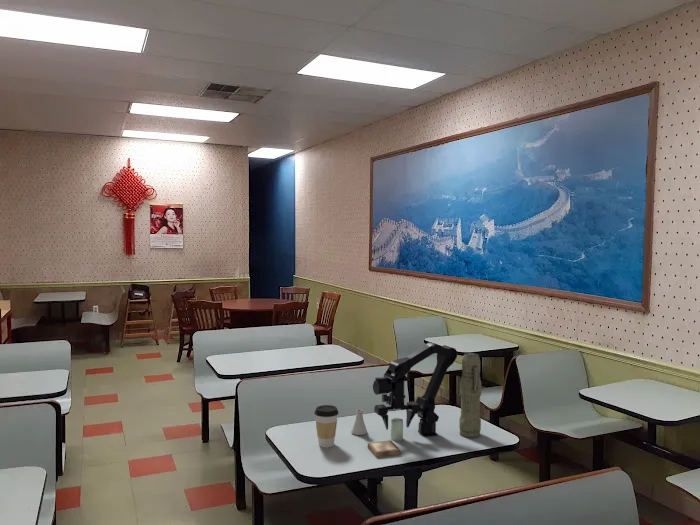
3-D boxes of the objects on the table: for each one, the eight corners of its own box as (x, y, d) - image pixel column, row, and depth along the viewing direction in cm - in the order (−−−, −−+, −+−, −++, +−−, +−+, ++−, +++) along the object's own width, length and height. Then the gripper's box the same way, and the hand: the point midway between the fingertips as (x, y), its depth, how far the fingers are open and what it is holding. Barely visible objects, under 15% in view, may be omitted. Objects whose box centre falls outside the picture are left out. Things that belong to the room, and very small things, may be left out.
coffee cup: (341, 441, 233) (342, 406, 232) (333, 450, 223) (333, 413, 223) (319, 438, 236) (319, 403, 235) (310, 447, 227) (310, 410, 226)
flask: (366, 436, 239) (366, 413, 238) (349, 435, 240) (349, 412, 240) (369, 430, 246) (369, 408, 245) (352, 429, 247) (352, 406, 247)
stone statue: (472, 428, 249) (473, 350, 247) (486, 438, 238) (487, 356, 236) (454, 430, 246) (455, 351, 244) (467, 440, 235) (468, 357, 233)
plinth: (390, 445, 229) (390, 440, 229) (400, 454, 220) (400, 449, 220) (367, 447, 226) (367, 442, 226) (375, 457, 217) (375, 452, 217)
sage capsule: (400, 436, 240) (400, 417, 239) (404, 440, 235) (404, 421, 234) (389, 437, 238) (389, 418, 238) (393, 441, 233) (393, 422, 233)
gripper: (410, 384, 246) (410, 420, 247) (370, 388, 240) (369, 424, 241) (421, 391, 235) (420, 428, 236) (378, 395, 230) (378, 433, 231)
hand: (397, 428), depth 236 cm, fingers open, 9 cm apart
